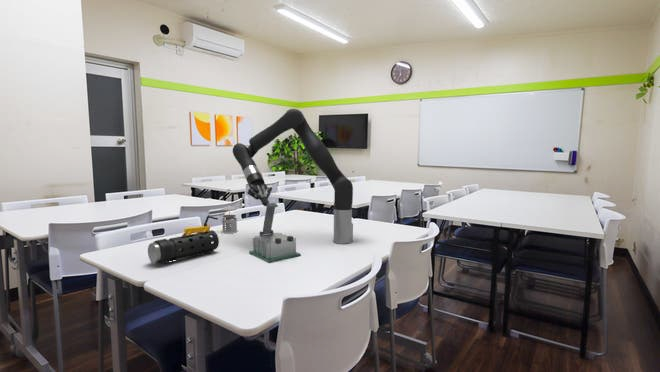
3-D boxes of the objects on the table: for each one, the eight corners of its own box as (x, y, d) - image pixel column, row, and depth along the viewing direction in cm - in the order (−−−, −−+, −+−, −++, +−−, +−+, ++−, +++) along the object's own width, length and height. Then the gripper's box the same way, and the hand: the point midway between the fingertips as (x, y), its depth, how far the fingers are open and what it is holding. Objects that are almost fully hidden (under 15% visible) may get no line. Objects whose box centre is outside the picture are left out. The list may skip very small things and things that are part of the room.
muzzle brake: (219, 253, 162) (219, 231, 161) (158, 269, 140) (157, 243, 139) (207, 249, 168) (207, 228, 166) (147, 264, 146) (146, 239, 145)
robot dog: (220, 241, 183) (220, 215, 182) (184, 246, 172) (183, 219, 171) (217, 238, 188) (216, 213, 186) (181, 243, 177) (180, 217, 176)
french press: (229, 235, 195) (227, 190, 192) (215, 232, 201) (213, 189, 198) (242, 232, 203) (241, 188, 200) (228, 229, 209) (227, 187, 207)
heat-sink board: (279, 247, 172) (279, 227, 171) (301, 256, 158) (301, 235, 157) (249, 253, 162) (248, 232, 161) (269, 263, 148) (269, 240, 147)
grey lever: (272, 235, 164) (269, 232, 166) (277, 205, 159) (274, 202, 161) (265, 237, 162) (261, 234, 164) (270, 206, 156) (266, 203, 158)
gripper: (243, 172, 164) (256, 201, 156) (268, 171, 173) (282, 198, 165) (238, 182, 169) (251, 211, 161) (263, 181, 177) (276, 208, 169)
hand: (266, 205), depth 163 cm, fingers closed
